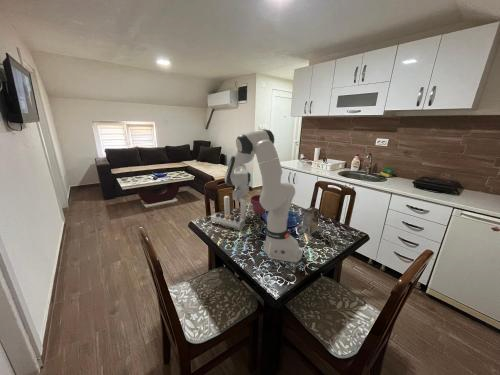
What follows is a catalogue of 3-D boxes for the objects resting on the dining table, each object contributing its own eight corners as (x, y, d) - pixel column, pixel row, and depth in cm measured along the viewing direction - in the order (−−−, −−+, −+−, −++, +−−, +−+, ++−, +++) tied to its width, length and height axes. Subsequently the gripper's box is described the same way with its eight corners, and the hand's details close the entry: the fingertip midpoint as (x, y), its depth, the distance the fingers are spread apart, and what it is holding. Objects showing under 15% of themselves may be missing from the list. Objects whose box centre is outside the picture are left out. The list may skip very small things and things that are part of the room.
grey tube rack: (245, 225, 149) (245, 217, 147) (240, 230, 143) (240, 221, 140) (216, 218, 160) (215, 210, 157) (210, 222, 153) (209, 214, 151)
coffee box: (309, 227, 148) (311, 206, 143) (317, 230, 143) (319, 209, 138) (301, 231, 142) (303, 209, 137) (309, 235, 137) (312, 213, 132)
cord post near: (247, 219, 159) (247, 199, 154) (244, 221, 155) (244, 201, 150) (242, 217, 160) (241, 198, 155) (239, 220, 157) (239, 200, 152)
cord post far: (231, 215, 164) (230, 196, 159) (228, 217, 161) (227, 198, 155) (226, 214, 166) (225, 195, 161) (223, 216, 162) (222, 197, 157)
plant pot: (256, 217, 161) (256, 202, 157) (247, 211, 172) (247, 196, 168) (271, 214, 167) (272, 199, 163) (262, 207, 179) (262, 193, 175)
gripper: (237, 189, 151) (238, 207, 155) (250, 182, 168) (250, 198, 173) (230, 188, 153) (230, 205, 158) (243, 181, 171) (243, 197, 175)
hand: (241, 201), depth 165 cm, fingers closed
